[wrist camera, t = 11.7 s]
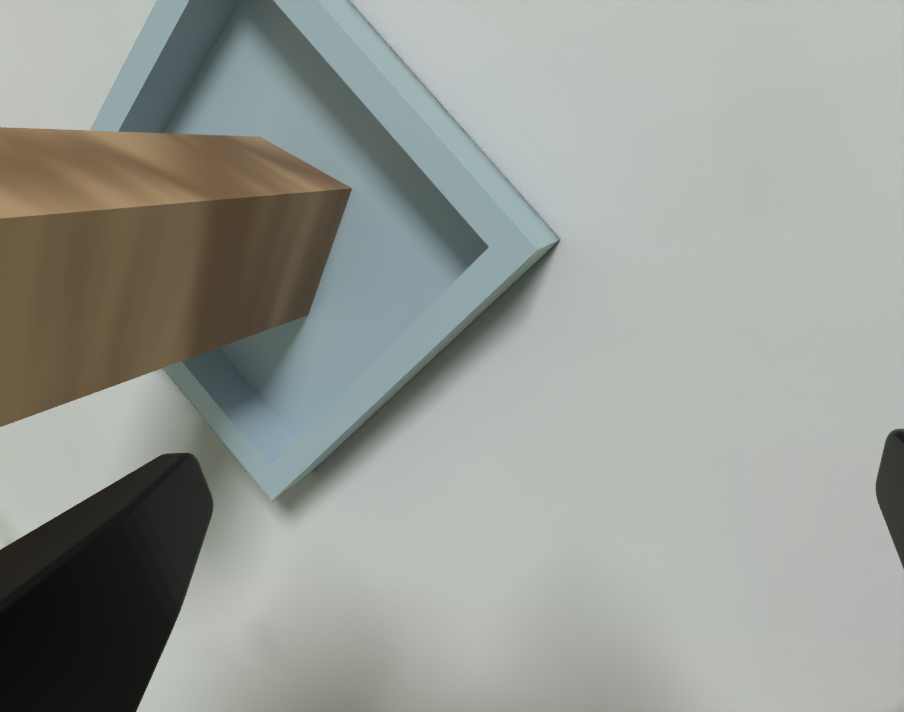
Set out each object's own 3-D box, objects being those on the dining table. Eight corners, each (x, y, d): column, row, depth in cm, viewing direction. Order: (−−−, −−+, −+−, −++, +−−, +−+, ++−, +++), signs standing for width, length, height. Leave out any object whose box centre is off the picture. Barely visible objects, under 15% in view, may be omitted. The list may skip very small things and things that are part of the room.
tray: (560, 239, 20) (537, 250, 18) (310, 473, 27) (271, 501, 25) (271, -88, 21) (216, -116, 19) (98, 216, 28) (42, 221, 26)
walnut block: (352, 188, 22) (-73, 225, 11) (308, 315, 24) (-85, 457, 13) (260, 136, 23) (-223, 119, 12) (225, 263, 25) (-211, 354, 14)
